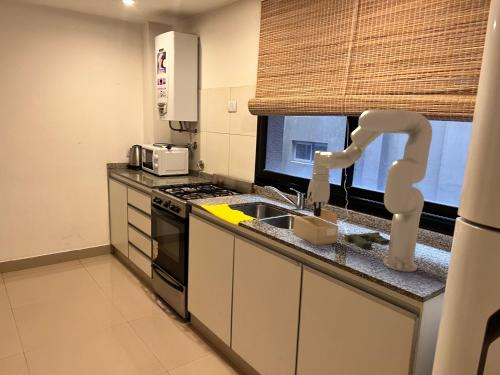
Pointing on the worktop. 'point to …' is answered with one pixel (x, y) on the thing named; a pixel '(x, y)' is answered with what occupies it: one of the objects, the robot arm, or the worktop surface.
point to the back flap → (328, 216)
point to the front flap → (302, 220)
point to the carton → (315, 230)
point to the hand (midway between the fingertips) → (317, 215)
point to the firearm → (366, 239)
